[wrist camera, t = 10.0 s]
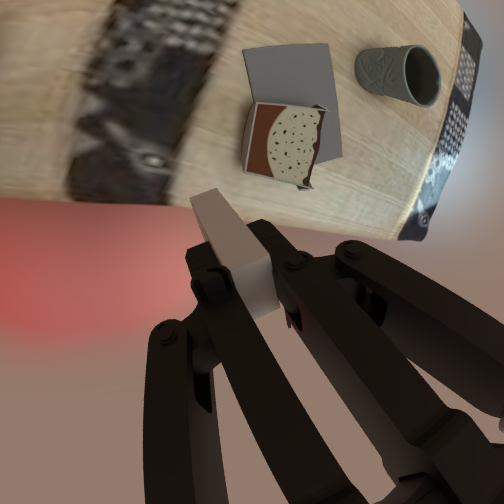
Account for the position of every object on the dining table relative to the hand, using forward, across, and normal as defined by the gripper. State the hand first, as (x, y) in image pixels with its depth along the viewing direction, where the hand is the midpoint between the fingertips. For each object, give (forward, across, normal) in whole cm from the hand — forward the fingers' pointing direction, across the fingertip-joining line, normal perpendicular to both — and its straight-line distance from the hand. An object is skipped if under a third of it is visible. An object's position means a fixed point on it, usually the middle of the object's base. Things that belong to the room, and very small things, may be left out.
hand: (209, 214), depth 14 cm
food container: (+22, +10, -2) cm, 24 cm away
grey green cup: (+24, +36, +5) cm, 43 cm away
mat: (+24, +20, 0) cm, 31 cm away
